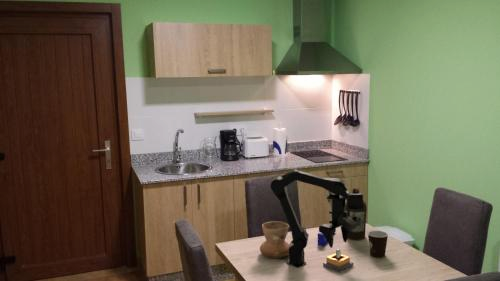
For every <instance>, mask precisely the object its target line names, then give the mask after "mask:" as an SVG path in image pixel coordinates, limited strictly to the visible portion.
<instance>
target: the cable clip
mask: <svg viewBox="0 0 500 281" xmlns="http://www.w3.org/2000/svg"><path fill="white" fill-rule="evenodd" d="M327 244H328V242H327V240H326V238H325V236H324V235H323V234H322V233H321V232H318V233H317V246H319V247H325V246H326V245H327Z"/></svg>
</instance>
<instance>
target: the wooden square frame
mask: <svg viewBox="0 0 500 281" xmlns="http://www.w3.org/2000/svg"><path fill="white" fill-rule="evenodd" d="M325 259H326V260H325V262H326V263H329V264H331V265H334V266H337V267H342V266H344V265H346V264H348V263H350V262H351V257H350V256H347V255H345V254H342V253H341V259H340V260H338V259H336V252H335V253H333V254H331V255H328V256H326V258H325Z"/></svg>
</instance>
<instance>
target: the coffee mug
mask: <svg viewBox="0 0 500 281" xmlns="http://www.w3.org/2000/svg"><path fill="white" fill-rule="evenodd" d="M388 235H389V234H388V233H387V232H386V231H382V230H371V231H368V232H367V237H368V239H367V240H368V245H369V246H368V247H369V248H368V249H369V256H370V257H371V258H375V259H381V258H382V259H384V258H385V257H386V250H387V243H388V238H389V236H388Z"/></svg>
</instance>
